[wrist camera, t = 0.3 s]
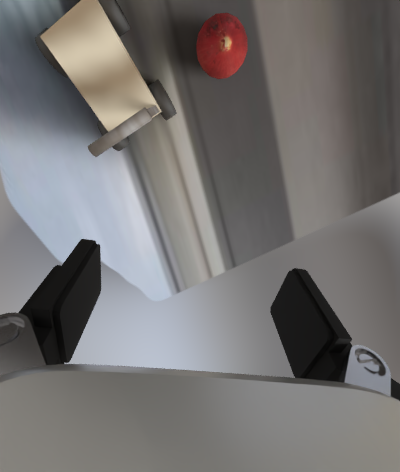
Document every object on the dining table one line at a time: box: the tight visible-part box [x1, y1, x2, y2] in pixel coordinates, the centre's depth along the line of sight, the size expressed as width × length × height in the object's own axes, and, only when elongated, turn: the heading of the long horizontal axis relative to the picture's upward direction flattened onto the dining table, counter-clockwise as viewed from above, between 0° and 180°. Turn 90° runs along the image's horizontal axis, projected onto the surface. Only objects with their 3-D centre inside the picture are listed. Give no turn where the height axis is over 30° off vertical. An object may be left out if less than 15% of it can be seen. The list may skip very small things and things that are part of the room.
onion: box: [196, 13, 247, 79], centre depth 27 cm, size 6×6×8 cm
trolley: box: [35, 0, 177, 157], centre depth 25 cm, size 14×10×14 cm, turn 29°
